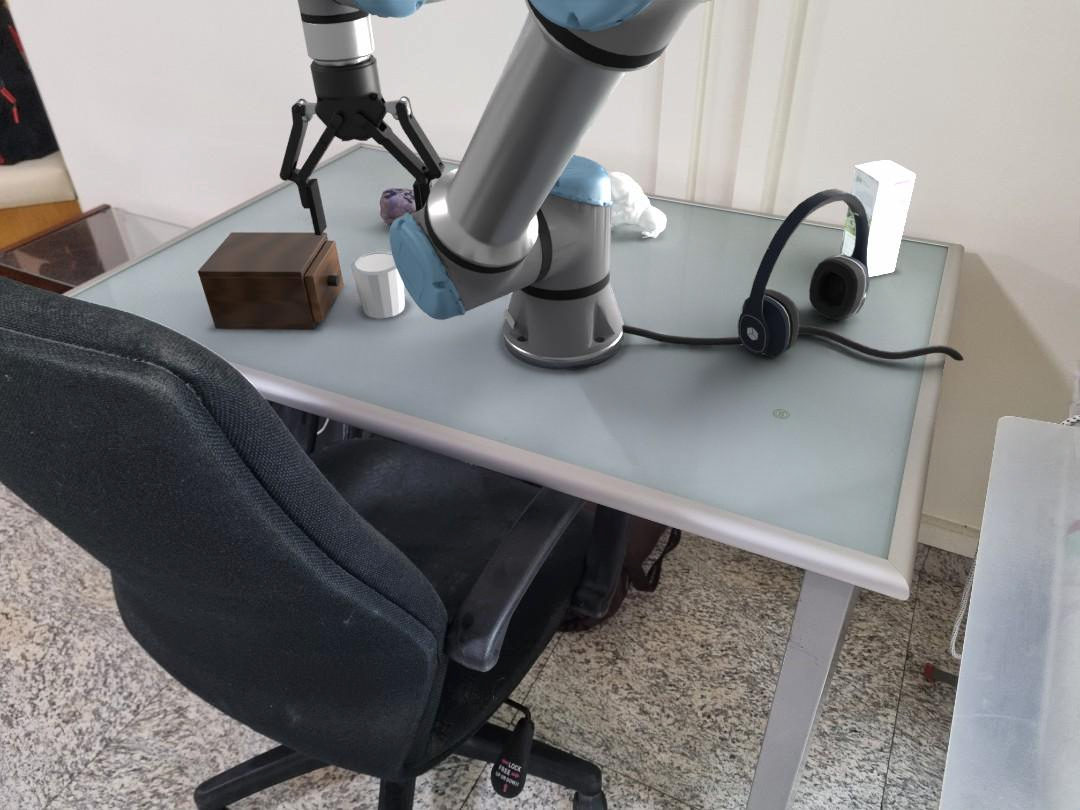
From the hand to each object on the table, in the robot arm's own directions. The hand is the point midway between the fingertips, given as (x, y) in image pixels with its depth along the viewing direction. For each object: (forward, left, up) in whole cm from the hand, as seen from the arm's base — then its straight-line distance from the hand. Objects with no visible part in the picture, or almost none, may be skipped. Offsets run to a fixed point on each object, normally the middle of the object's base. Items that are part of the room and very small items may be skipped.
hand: (372, 230), depth 108 cm
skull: (+1, -27, -12) cm, 30 cm away
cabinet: (+15, 0, -12) cm, 19 cm away
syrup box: (-67, -13, -12) cm, 69 cm away
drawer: (+13, 0, -11) cm, 17 cm away
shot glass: (0, 0, -12) cm, 12 cm away
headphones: (-55, +5, -12) cm, 56 cm away
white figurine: (-34, -25, -12) cm, 44 cm away
